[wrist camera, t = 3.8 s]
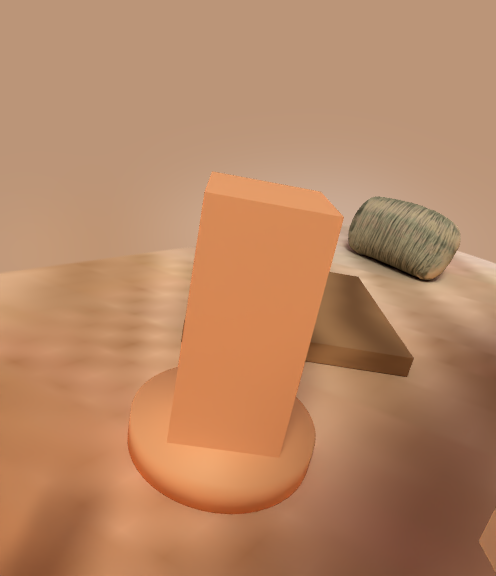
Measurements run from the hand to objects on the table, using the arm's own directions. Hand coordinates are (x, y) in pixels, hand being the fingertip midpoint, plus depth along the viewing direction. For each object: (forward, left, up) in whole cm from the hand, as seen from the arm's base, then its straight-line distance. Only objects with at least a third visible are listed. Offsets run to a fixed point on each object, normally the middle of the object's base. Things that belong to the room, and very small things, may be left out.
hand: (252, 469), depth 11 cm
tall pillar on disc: (0, -10, -7) cm, 12 cm away
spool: (-21, -47, -8) cm, 52 cm away
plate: (-5, -27, -7) cm, 28 cm away
